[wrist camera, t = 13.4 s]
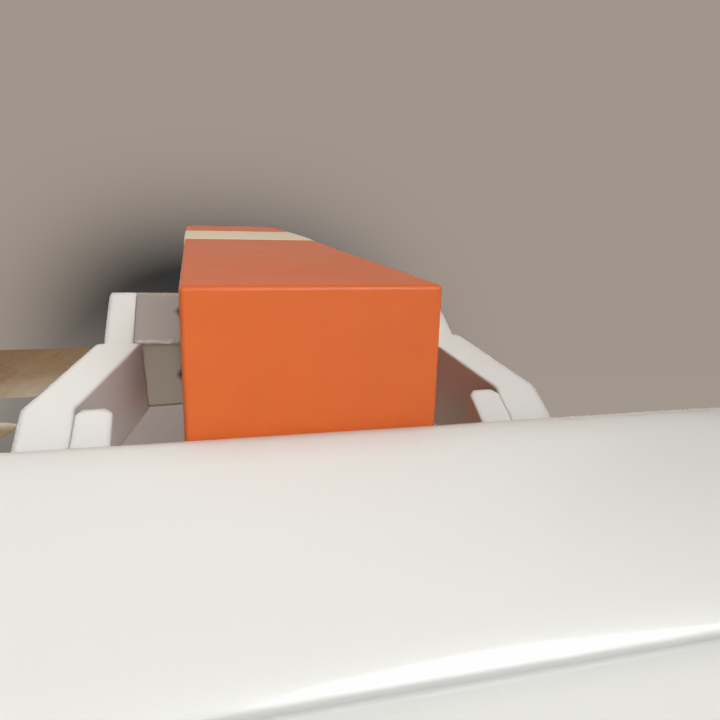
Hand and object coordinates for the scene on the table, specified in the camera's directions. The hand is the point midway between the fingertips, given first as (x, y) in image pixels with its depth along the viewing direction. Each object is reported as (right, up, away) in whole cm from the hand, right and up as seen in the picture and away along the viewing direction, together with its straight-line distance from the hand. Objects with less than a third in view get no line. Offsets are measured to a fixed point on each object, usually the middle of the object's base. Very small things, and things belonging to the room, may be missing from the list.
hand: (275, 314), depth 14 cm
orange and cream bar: (-2, -1, +6) cm, 6 cm away
